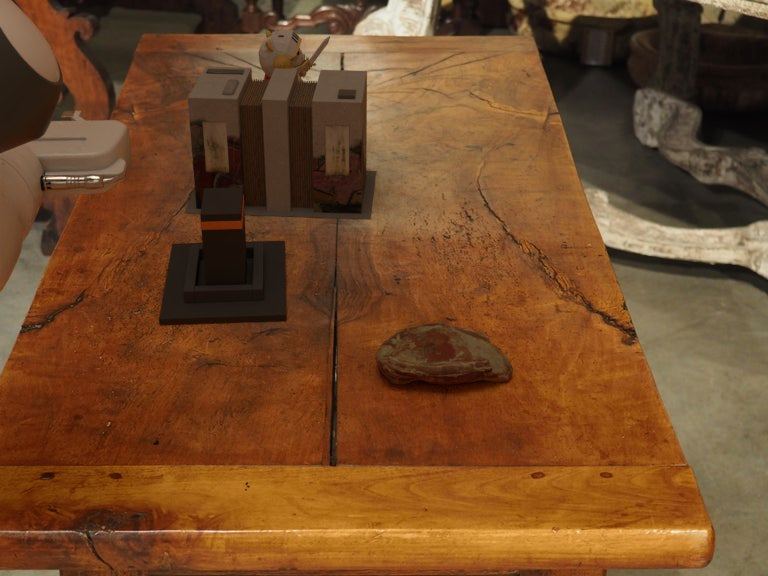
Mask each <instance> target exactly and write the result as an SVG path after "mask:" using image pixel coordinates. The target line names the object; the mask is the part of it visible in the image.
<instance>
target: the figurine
mask: <svg viewBox="0 0 768 576" xmlns="http://www.w3.org/2000/svg"><path fill="white" fill-rule="evenodd" d="M265 36H266V38H265V39H264V40H263V41H262V43H261V44H260V46H259V49H258V61H259V65H260V68H261V71H263V73H264V76H263V80H264V81H265V80H266V81H267V80H268V82H269V80H270V79H271V76H272V74H273V71H274V69H275V68H281V69H298V81H299V82H300V81H301V83H302V81H304V79H302V78H304V77H306V76H307V75H308V74H307V73H308V72H309V70H311V68H313V67H316V66H317V63H316V61H317V59H318V58H319V56H320V55H321V53H322V52H323V51H324V49H325V48H326V47H327V46H328V44H329V41H330V39H331V36H330V35H329V36H327V37H326V38H324V39H323V40H322V42H321V43H320V44H319V46H318V47H317V48H316V50H315V51H314V53H313V54H312V55H311V57H309V56H307V57H306V54H305V53H303V50H302V49H301V44H302V40H303V39H302V38H301V37H300V36H299V35H298V33H297V32H295V30H294V29H277V30H274V31H270V30H267V29H266V33H265Z"/></svg>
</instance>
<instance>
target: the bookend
mask: <svg viewBox="0 0 768 576" xmlns="http://www.w3.org/2000/svg"><path fill="white" fill-rule="evenodd" d="M187 107H188V108H187V109H188V119H189V120H188V121H189V130H190V131H189V132H190V144H191V146H190V147H191V157H192V169H193V170H192V171H193V181H194V190H193V192H192V194H191V196H190V199H189V200H188V203H187V205H186V208H184V209H185V210H184V212H183V214H201V206H202V199H203V192H204V188H241V187H242V188H243V194H244V216H263V217H265V216H266V217H292V218H293V217H295V218H296V217H297V218H298V217H299V218H324V219H325V218H326V219H356V220H357V219H360V220H372V215H373V214H372V213H373V206H374V195H375V189H376V179H377V170H367V147H368V146H367V142H368V141H367V140H368V139H367V136H368V132H367V131H368V128H367V127H368V71H367V70H352V69H351V70H347V69H320V70H319V74H318V78H317V80H303V81H302V83H301V81H300V82H299V81H298V69H281V68H275V69H274V71H273V74H272V76H271V79H270V80H269V82H268V80H267V81H266V80H265V81H264V79H255V78H254V79H253V71H252V67H241V66H240V67H236V66H205V67H204V68H203V70H202V72H201V74H200V75H199V77H198V79H197V80H196V82H195V84H194V86H193V88H192V89H191V91H190V93H189V95H188V96H187Z"/></svg>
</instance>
